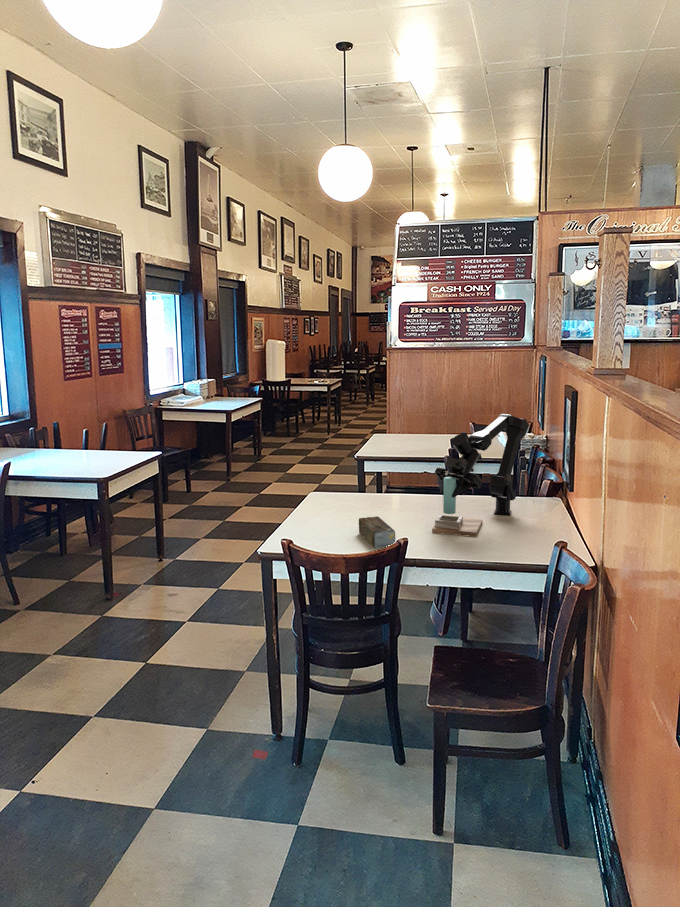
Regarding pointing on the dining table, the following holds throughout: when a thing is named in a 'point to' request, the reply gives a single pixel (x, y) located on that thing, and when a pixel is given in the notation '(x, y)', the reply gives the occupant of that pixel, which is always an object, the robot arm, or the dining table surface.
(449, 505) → the post
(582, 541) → the dining table surface
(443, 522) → the base board
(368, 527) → the beverage carton
